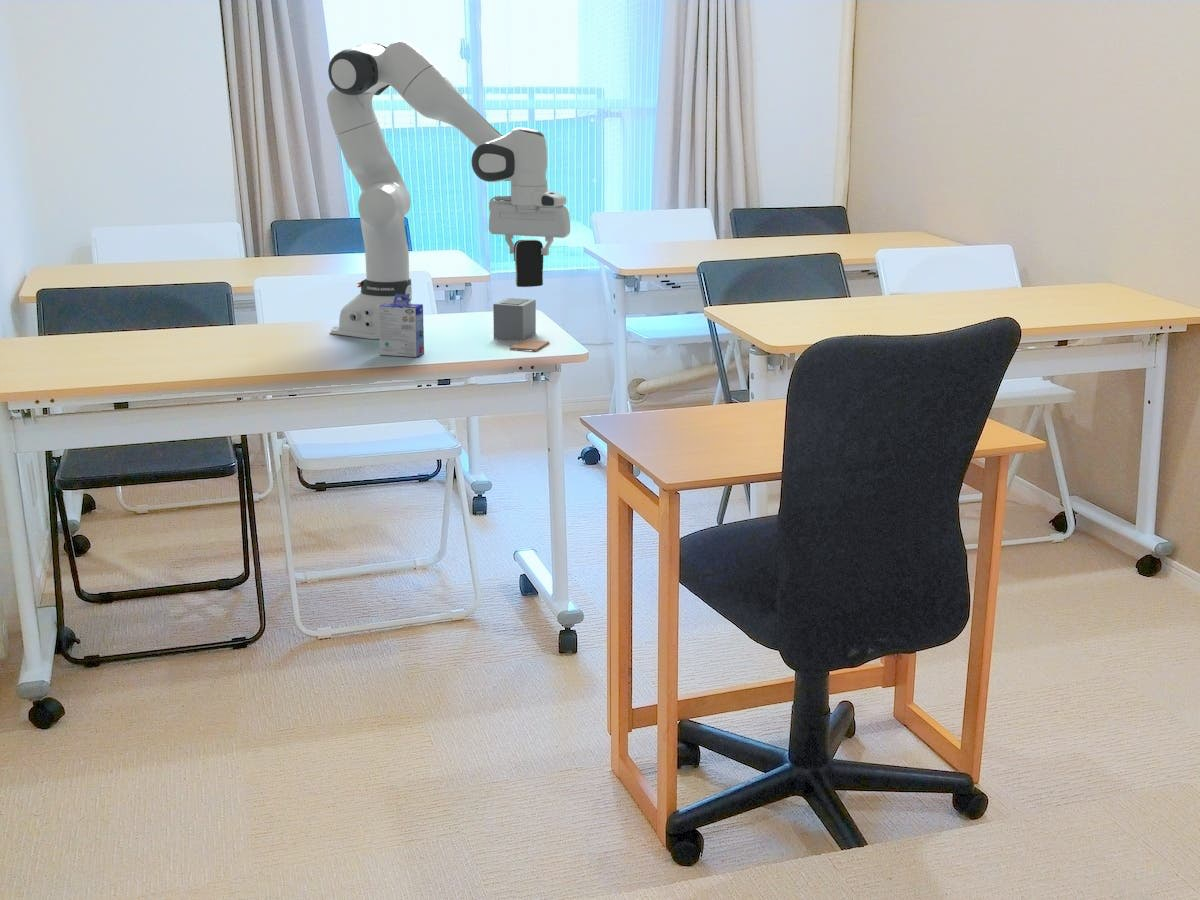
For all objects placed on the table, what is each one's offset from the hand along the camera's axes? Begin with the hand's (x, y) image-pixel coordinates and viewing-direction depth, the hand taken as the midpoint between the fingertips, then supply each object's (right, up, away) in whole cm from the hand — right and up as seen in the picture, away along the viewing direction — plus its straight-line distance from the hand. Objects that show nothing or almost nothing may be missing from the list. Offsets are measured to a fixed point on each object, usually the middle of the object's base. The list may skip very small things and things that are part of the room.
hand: (529, 254), depth 290 cm
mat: (0, -22, +7) cm, 23 cm away
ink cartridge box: (-31, -25, -4) cm, 40 cm away
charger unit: (-5, -18, +19) cm, 27 cm away
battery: (0, -8, +3) cm, 8 cm away
